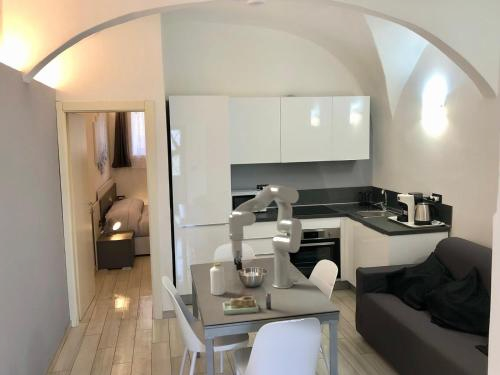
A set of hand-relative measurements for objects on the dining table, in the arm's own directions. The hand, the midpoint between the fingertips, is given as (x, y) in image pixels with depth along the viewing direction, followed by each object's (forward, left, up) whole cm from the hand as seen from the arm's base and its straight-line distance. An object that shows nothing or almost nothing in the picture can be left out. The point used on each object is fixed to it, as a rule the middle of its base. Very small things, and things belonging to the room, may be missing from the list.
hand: (238, 267), depth 246 cm
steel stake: (-15, +10, -21) cm, 27 cm away
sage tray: (0, +8, -21) cm, 22 cm away
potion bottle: (+10, -20, -21) cm, 31 cm away
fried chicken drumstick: (-1, +8, -20) cm, 22 cm away
